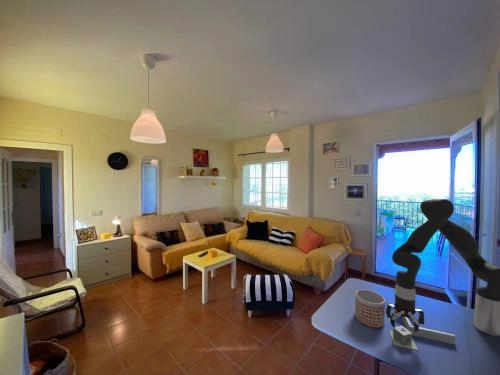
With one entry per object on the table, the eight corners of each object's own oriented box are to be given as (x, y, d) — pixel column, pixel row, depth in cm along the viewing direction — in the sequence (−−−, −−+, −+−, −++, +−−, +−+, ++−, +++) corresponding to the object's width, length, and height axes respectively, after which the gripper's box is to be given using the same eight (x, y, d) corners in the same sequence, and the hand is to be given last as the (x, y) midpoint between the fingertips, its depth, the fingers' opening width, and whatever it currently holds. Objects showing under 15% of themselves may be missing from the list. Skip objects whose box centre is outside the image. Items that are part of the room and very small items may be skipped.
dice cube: (411, 343, 95) (412, 333, 95) (403, 345, 94) (403, 335, 94) (401, 335, 100) (401, 325, 100) (393, 337, 99) (393, 327, 98)
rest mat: (410, 335, 100) (410, 335, 100) (418, 350, 92) (418, 350, 92) (388, 330, 103) (388, 330, 103) (394, 344, 95) (394, 344, 95)
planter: (389, 330, 104) (390, 305, 103) (359, 326, 107) (360, 302, 106) (378, 312, 117) (378, 290, 117) (351, 309, 120) (352, 287, 119)
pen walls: (443, 328, 105) (443, 321, 105) (455, 344, 95) (455, 336, 95) (402, 320, 111) (402, 313, 111) (409, 334, 101) (410, 326, 101)
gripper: (420, 293, 97) (419, 326, 98) (385, 287, 102) (384, 319, 103) (427, 302, 90) (426, 338, 91) (389, 296, 95) (388, 330, 96)
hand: (404, 328), depth 97 cm, fingers open, 8 cm apart
